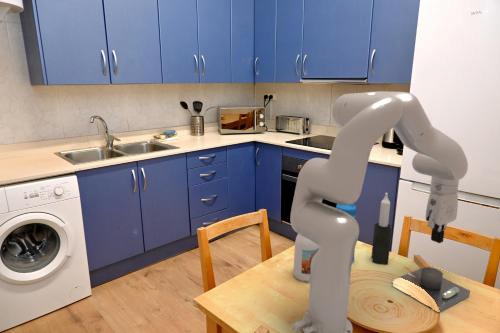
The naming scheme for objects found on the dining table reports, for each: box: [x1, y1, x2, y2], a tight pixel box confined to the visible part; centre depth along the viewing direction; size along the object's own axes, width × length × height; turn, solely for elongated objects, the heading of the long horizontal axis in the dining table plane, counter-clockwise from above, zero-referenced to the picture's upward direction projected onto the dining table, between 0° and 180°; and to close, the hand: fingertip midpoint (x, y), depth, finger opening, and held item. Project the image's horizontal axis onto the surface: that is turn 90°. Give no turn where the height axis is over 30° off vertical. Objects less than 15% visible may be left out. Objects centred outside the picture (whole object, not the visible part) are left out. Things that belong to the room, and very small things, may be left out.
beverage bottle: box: [335, 203, 357, 264], centre depth 120 cm, size 8×8×20 cm
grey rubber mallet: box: [413, 254, 444, 290], centre depth 106 cm, size 13×6×4 cm, turn 0°
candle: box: [371, 192, 392, 265], centre depth 118 cm, size 5×5×25 cm
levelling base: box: [400, 268, 471, 313], centre depth 103 cm, size 15×15×4 cm
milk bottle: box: [293, 233, 319, 283], centre depth 109 cm, size 8×8×20 cm
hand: (436, 241), depth 113 cm, fingers closed
